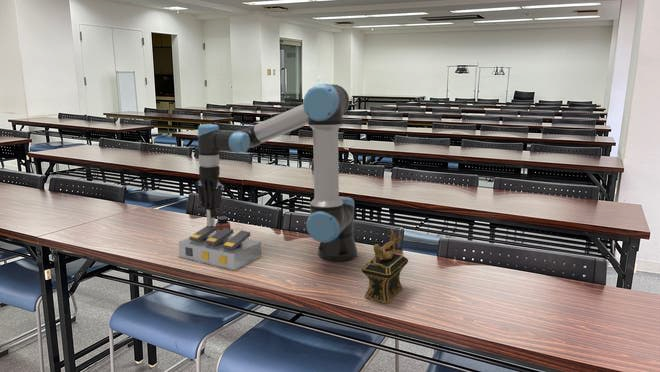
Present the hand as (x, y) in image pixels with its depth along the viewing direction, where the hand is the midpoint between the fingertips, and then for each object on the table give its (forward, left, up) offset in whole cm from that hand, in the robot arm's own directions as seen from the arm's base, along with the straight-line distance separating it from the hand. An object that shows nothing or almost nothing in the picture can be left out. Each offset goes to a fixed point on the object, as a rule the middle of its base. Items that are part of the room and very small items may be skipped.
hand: (210, 225), depth 182 cm
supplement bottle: (0, -7, -10) cm, 13 cm away
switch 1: (0, +4, -2) cm, 5 cm away
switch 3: (-16, +4, -2) cm, 17 cm away
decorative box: (-74, +1, -10) cm, 74 cm away
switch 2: (-8, +4, -2) cm, 9 cm away
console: (-8, +4, -10) cm, 14 cm away
